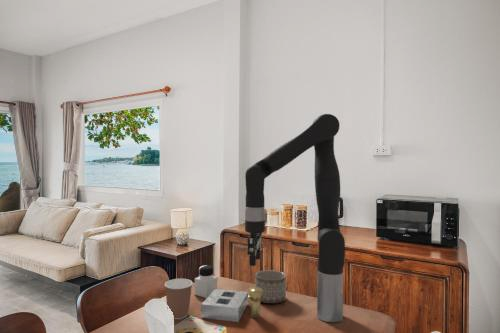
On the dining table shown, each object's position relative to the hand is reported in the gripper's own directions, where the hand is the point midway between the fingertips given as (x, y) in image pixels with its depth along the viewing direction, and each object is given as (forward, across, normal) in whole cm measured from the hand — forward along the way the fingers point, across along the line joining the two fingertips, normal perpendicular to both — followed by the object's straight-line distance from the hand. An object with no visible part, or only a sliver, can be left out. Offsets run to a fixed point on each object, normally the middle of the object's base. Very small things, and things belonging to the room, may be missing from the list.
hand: (255, 262), depth 129 cm
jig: (+20, +2, +12) cm, 23 cm away
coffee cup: (+20, -7, +28) cm, 35 cm away
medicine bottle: (+20, +15, +25) cm, 35 cm away
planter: (+20, +17, -3) cm, 26 cm away
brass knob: (+20, 0, 0) cm, 20 cm away
